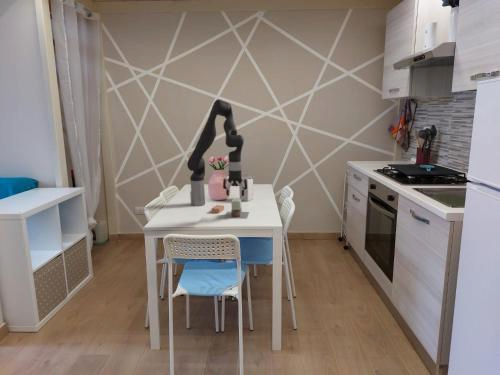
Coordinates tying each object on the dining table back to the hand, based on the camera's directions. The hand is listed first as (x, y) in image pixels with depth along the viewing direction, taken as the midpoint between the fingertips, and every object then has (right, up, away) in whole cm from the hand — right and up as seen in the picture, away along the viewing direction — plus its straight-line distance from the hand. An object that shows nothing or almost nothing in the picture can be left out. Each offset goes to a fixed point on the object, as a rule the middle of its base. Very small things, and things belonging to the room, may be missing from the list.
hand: (235, 195), depth 217 cm
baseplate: (+1, -13, +3) cm, 13 cm away
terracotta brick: (-11, -12, +12) cm, 20 cm away
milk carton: (+6, -4, +46) cm, 46 cm away
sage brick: (+1, -7, +2) cm, 7 cm away
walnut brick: (+1, -12, +3) cm, 12 cm away
